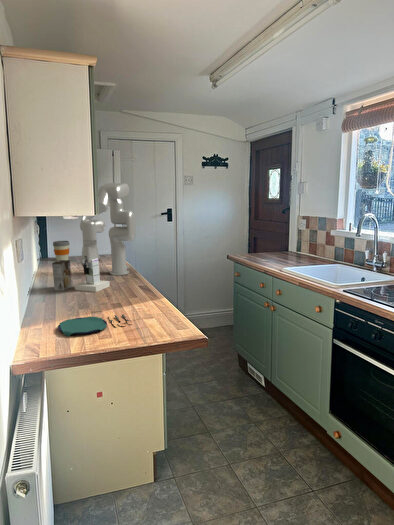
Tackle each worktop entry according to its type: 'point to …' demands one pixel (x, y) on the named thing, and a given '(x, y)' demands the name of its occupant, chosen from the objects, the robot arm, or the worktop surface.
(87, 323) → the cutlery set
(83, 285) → the base plinth
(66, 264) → the coffee box
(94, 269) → the syrup box
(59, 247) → the reusable coffee cup
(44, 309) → the worktop surface
